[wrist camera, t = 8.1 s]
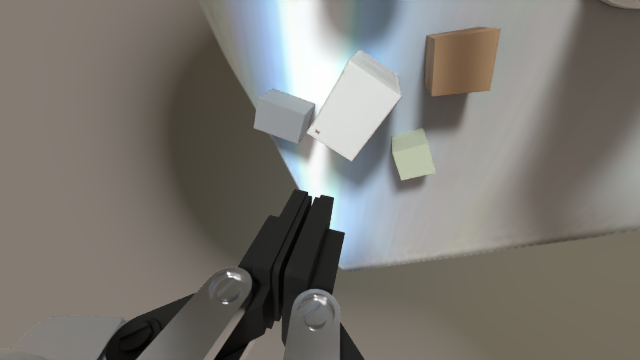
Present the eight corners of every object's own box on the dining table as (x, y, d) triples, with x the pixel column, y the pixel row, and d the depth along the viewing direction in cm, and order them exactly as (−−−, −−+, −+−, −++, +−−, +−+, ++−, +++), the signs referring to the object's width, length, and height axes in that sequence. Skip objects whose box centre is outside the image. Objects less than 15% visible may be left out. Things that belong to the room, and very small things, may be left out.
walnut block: (478, 26, 26) (500, 28, 21) (471, 78, 28) (489, 90, 23) (426, 35, 27) (435, 39, 22) (424, 83, 30) (431, 96, 25)
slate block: (315, 103, 34) (304, 115, 30) (307, 129, 36) (297, 144, 32) (273, 88, 34) (258, 97, 30) (269, 115, 36) (253, 127, 32)
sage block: (422, 127, 32) (428, 143, 28) (429, 154, 34) (435, 172, 30) (391, 136, 34) (392, 152, 30) (399, 161, 36) (401, 180, 32)
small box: (360, 127, 34) (351, 164, 26) (325, 105, 34) (304, 134, 25) (399, 74, 30) (404, 97, 21) (360, 47, 29) (348, 58, 21)
